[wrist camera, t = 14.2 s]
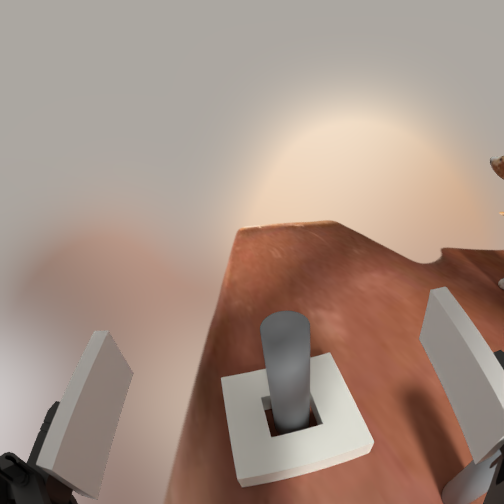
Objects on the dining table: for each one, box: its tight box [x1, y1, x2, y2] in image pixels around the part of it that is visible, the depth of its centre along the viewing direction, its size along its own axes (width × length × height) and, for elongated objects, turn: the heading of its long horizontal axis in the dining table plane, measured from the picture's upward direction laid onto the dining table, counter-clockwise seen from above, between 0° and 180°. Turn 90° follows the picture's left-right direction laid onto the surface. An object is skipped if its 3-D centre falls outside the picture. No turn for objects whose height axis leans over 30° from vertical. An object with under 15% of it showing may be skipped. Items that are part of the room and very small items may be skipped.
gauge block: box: [221, 353, 374, 487], centre depth 31 cm, size 14×14×3 cm
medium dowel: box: [442, 449, 501, 504], centre depth 16 cm, size 4×4×12 cm
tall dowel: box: [260, 311, 310, 435], centre depth 28 cm, size 4×4×16 cm
